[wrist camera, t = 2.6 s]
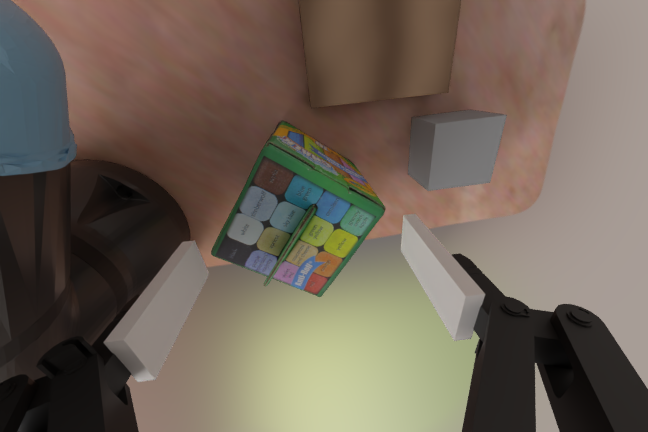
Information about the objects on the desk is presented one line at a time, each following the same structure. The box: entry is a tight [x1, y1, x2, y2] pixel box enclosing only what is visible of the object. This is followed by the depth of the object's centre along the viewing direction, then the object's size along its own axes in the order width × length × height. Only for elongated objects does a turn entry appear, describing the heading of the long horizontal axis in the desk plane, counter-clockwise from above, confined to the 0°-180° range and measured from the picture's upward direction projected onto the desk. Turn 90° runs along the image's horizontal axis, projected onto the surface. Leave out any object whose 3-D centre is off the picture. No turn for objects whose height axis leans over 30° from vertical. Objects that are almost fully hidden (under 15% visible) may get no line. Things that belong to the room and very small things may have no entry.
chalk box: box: [211, 121, 385, 297], centre depth 20 cm, size 9×9×15 cm
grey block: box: [408, 110, 507, 191], centre depth 23 cm, size 6×6×5 cm
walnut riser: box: [299, 0, 461, 108], centre depth 19 cm, size 12×12×2 cm
